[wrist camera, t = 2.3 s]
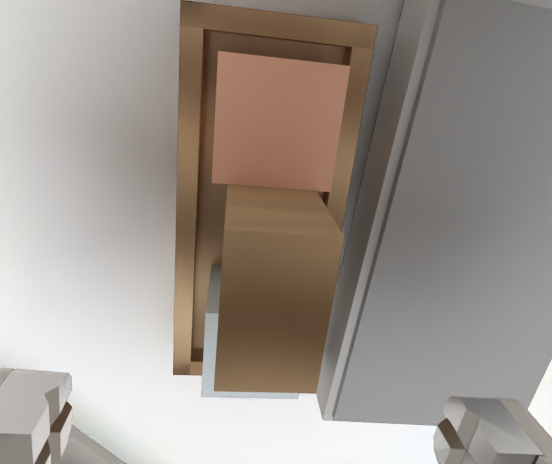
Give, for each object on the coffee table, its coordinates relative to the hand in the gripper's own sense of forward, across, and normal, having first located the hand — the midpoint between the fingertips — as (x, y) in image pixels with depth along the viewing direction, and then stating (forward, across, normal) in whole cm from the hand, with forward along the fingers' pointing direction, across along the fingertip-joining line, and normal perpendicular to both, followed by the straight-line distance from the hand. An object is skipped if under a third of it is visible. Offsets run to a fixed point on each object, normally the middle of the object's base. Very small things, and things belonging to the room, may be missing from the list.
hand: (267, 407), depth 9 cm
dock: (+12, -10, -1) cm, 16 cm away
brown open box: (+12, 0, -1) cm, 12 cm away
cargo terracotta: (+10, 0, -5) cm, 12 cm away
